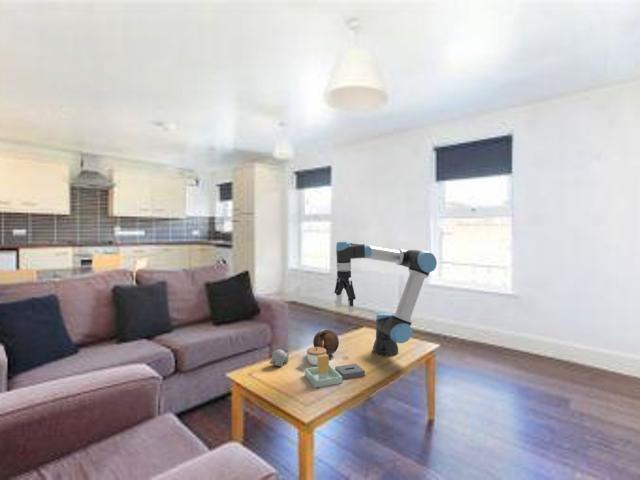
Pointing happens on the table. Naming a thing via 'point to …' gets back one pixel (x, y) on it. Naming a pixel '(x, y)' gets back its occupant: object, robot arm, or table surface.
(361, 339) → the table surface
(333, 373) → the parts tray
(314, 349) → the lidded jar
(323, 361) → the fuse
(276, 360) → the toy rhinoceros
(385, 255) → the robot arm
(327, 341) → the wooden sphere
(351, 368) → the socket block
